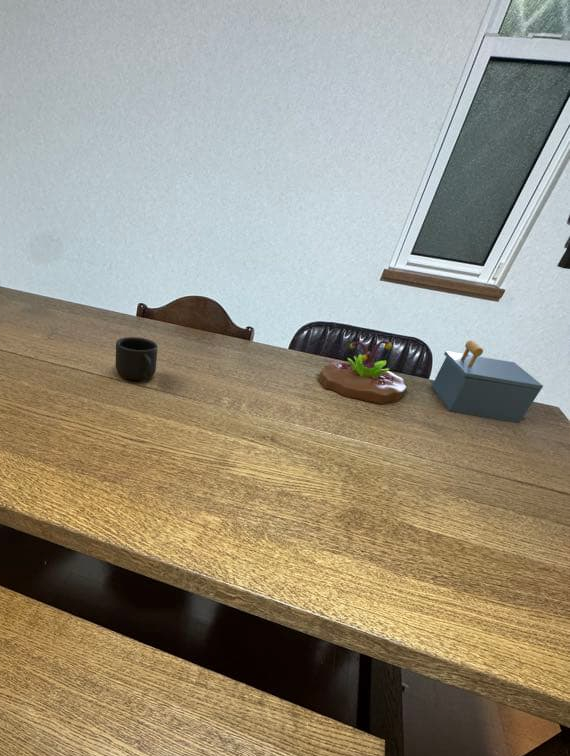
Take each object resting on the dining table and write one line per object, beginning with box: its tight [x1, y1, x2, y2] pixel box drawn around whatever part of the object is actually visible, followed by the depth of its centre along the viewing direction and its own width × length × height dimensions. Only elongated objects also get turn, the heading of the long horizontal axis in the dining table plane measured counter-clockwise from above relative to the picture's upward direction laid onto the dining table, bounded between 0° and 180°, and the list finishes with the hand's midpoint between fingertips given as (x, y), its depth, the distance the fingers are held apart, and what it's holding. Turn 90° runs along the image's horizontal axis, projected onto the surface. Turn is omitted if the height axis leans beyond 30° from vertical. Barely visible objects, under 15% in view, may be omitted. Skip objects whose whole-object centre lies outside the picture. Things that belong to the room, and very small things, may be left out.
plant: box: [318, 339, 408, 405], centre depth 107 cm, size 20×20×11 cm
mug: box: [114, 336, 159, 382], centre depth 98 cm, size 12×9×7 cm
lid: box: [443, 340, 544, 390], centre depth 103 cm, size 16×16×5 cm
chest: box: [431, 356, 542, 423], centre depth 107 cm, size 16×16×8 cm
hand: (563, 267), depth 97 cm, fingers closed
